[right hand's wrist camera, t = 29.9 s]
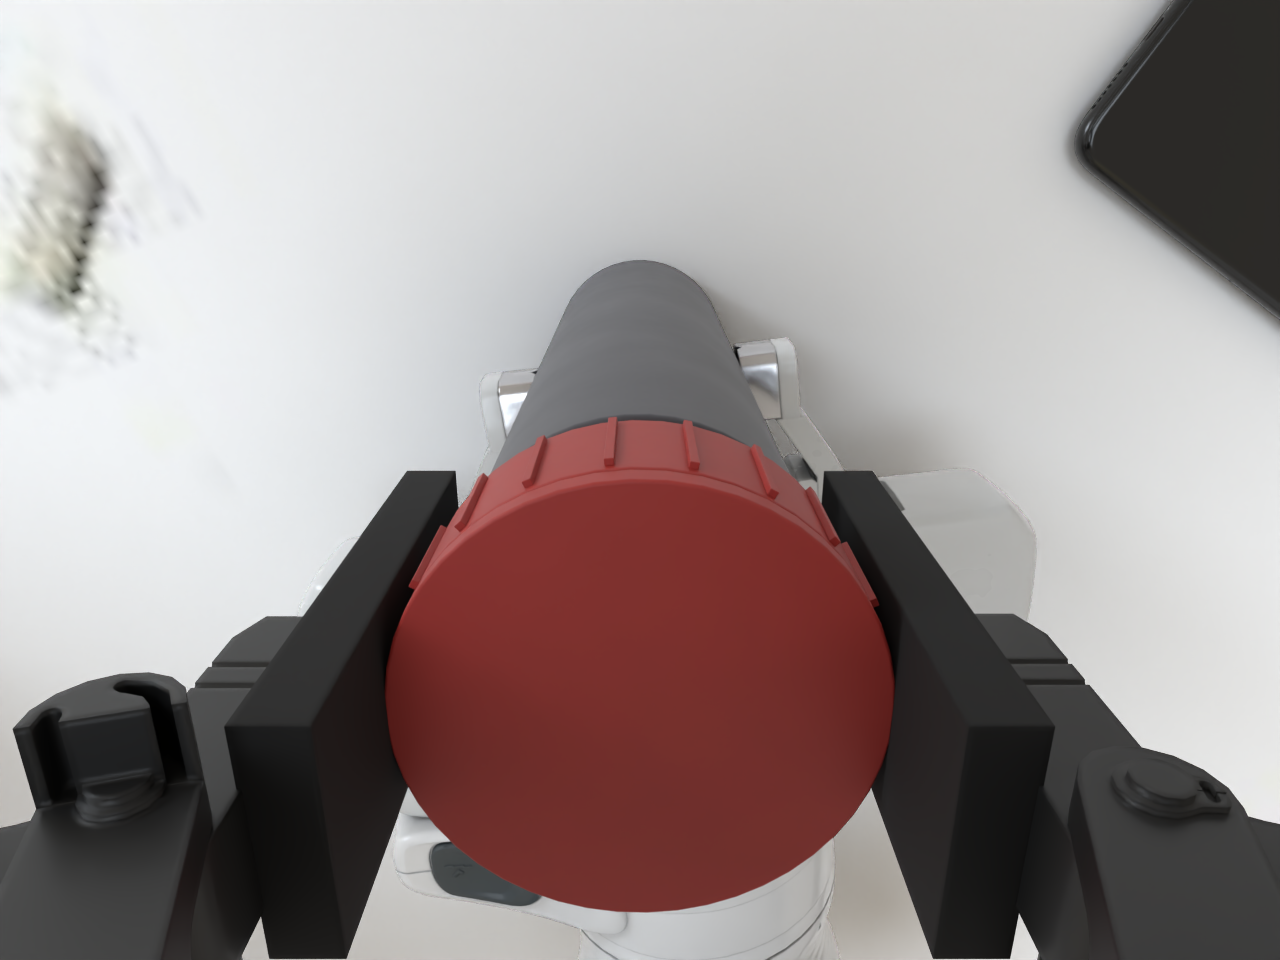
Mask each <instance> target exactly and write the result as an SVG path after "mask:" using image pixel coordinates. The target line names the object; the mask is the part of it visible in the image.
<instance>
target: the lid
mask: <svg viewBox="0 0 1280 960" xmlns="http://www.w3.org/2000/svg"><path fill="white" fill-rule="evenodd" d="M409 587H410V588H412V589H414V592H413V594H412V597H411V598H410V600H409V602H408V604H407V606H406V608H405V610H404V612H403V615H402V617H401V620H400V622H399V625H398V627H397V630H396V632H395V634H394V637H393V640H392V644H391V649H390V653H389V657H388V661H387V666H386V676H385V700H386V709H387V718H388V727H389V734H390V741H391V746H392V750H393V754H394V756H395V758H396V761H397V763H398V766H399V768H400V771H401V773H402V776H403V778H404V780H405V782H406V784H407V786H408V787H409V789H410V791H411V793H412V794H413V796H414V798H415V799H416V801H417V803H418V804H419V806H420V807H421V808H422V810H423V811H424V812H425V813H426V815H427V816H428V817H429V819H430V820H431V821H432V822H433V824H434V825H435V826H436V827H437V828H438V829H439V830H440V831H441V832H442V833H443V834H444V835H445V836H446V837H447V838H448V839H449V840H450V841H451V842H452V843H453V844H454V845H455V846H456V847H457V848H458V849H460V850H461V851H462V852H463V853H465V854H466V855H467V856H469V857H470V858H471V859H472V860H474V861H475V862H476V863H478V864H479V865H481V866H482V867H484V868H486V869H487V870H489V871H490V872H492V873H494V874H495V875H497V876H499V877H500V878H502V879H504V880H506V881H508V882H510V883H512V884H514V885H517V886H519V887H521V888H523V889H525V890H527V891H529V892H532V893H535V894H538V895H541V896H544V897H547V898H550V899H552V900H555V901H558V902H563V903H567V904H571V905H576V906H580V907H584V908H590V909H598V910H606V911H614V912H639V913H650V912H663V911H676V910H683V909H688V908H694V907H699V906H705V905H709V904H713V903H716V902H720V901H723V900H727V899H730V898H734V897H737V896H739V895H742V894H744V893H747V892H749V891H752V890H754V889H757V888H759V887H762V886H764V885H766V884H768V883H769V882H771V881H773V880H775V879H777V878H779V877H781V876H782V875H784V874H786V873H788V872H790V871H791V870H793V869H794V868H796V867H797V866H798V865H800V864H801V863H803V862H804V861H806V860H807V859H808V858H810V857H811V856H813V855H814V854H815V853H816V852H817V851H819V850H820V849H821V848H822V847H823V846H824V845H825V844H826V843H828V842H829V841H830V840H831V839H832V838H833V837H834V836H835V835H836V834H837V833H838V832H839V831H840V830H841V828H842V827H843V826H844V825H845V824H846V823H847V822H848V821H849V819H850V818H851V817H852V816H853V815H854V813H855V812H856V810H857V809H858V807H859V806H860V804H861V803H862V801H863V800H864V798H865V797H866V795H867V794H868V792H869V791H870V789H871V787H872V785H873V783H874V781H875V778H876V776H877V774H878V772H879V770H880V768H881V766H882V763H883V760H884V757H885V754H886V750H887V747H888V744H889V738H890V729H891V721H892V713H893V704H894V694H895V678H894V671H893V665H892V659H891V652H890V649H889V646H888V643H887V640H886V637H885V634H884V630H883V627H882V624H881V622H880V620H879V618H878V616H877V614H876V612H875V610H874V607H876V606H879V603H878V600H877V598H876V596H875V594H874V592H873V590H872V588H871V587H870V585H869V583H868V581H867V579H866V577H865V575H864V573H863V571H862V569H861V568H860V566H859V564H858V562H857V560H856V558H855V556H854V554H853V552H852V550H851V549H850V547H849V545H848V543H847V542H844V543H842V544H841V541H840V539H839V537H838V535H837V534H836V532H835V530H834V528H833V526H832V524H831V522H830V520H829V518H828V516H827V514H826V512H825V510H824V508H823V506H822V504H821V502H820V500H819V498H818V496H817V494H816V492H815V491H814V490H813V489H812V488H811V487H809V488H807V489H806V490H805V489H804V488H803V487H802V486H801V485H800V484H799V483H798V481H797V480H796V479H795V478H793V477H792V476H791V475H790V474H788V473H787V472H786V471H785V470H783V469H782V468H781V467H780V466H779V465H777V464H776V463H775V462H774V461H772V460H770V459H769V458H767V457H765V456H764V454H763V452H762V449H761V447H759V446H757V445H755V444H753V446H752V447H749V446H747V445H745V444H742V443H740V442H738V441H736V440H733V439H731V438H729V437H726V436H724V435H722V434H719V433H715V432H712V431H708V430H705V429H702V428H698V427H695V426H693V424H692V421H688V420H684V421H683V424H678V423H671V422H665V421H643V420H628V421H617V417H610V418H608V422H607V423H600V424H595V425H591V426H586V427H582V428H577V429H573V430H570V431H567V432H564V433H562V434H559V435H556V436H554V437H551V438H548V439H546V437H545V435H543V436H540V437H538V438H537V440H536V443H535V445H533V446H532V447H530V448H528V449H526V450H524V451H522V452H520V453H518V454H517V455H515V456H514V457H512V458H511V459H510V460H508V461H507V462H505V463H504V464H502V465H501V466H500V467H498V468H497V469H495V470H494V471H493V472H492V473H491V474H490V475H489V476H487V475H485V474H484V473H482V474H481V475H480V476H479V477H478V479H477V481H476V483H475V485H474V487H473V489H472V491H471V493H470V495H469V496H468V497H467V499H466V500H465V501H464V502H463V504H462V505H461V506H460V507H459V509H458V510H457V511H456V513H455V515H454V516H453V518H452V520H451V522H450V523H449V525H448V527H447V528H446V527H444V526H442V525H441V526H440V527H439V529H438V531H437V533H436V535H435V537H434V539H433V541H432V543H431V544H430V546H429V548H428V550H427V552H426V554H425V556H424V558H423V560H422V562H421V563H420V565H419V567H418V569H417V571H416V573H415V575H414V577H413V579H412V580H411V582H410V584H409Z"/></svg>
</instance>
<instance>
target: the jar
mask: <svg viewBox="0 0 1280 960" xmlns="http://www.w3.org/2000/svg"><path fill="white" fill-rule="evenodd" d="M610 417H617V421H628V420H643V421H665V422H671V423H678V424H683V421H684V420H688V421H692V424H693V426H695V427H698V428H702V429H705V430H708V431H712V432H715V433H719V434H722V435H724V436H726V437H729V438H731V439H733V440H736V441H738V442H740V443H742V444H745V445H747V446H749V447H752V446H753V444H755V445H757V446H759V447H761V449H762V452H763V454H764V456H765V457H767V458H769V459H770V460H772V461H774V462H775V463H776V464H777V465H779V466H780V467H781V468H782V469H783V470H785V471H786V472H787V473H788V474H789V472H788V470H787V467H786V465H785V463H784V461H783V459H782V456H781V454H780V452H779V450H778V448H777V446H776V443H775V441H774V439H773V437H772V435H771V432H770V430H769V428H768V426H767V424H766V422H765V419H764V417H763V415H762V413H761V411H760V408H759V406H758V404H757V402H756V400H755V398H754V395H753V393H752V391H751V389H750V387H749V384H748V382H747V380H746V378H745V376H744V373H743V371H742V369H741V367H740V365H739V363H738V360H737V358H736V356H735V354H734V352H733V349H732V347H731V345H730V343H729V341H728V339H727V336H726V334H725V332H724V330H723V328H722V325H721V323H720V321H719V319H718V317H717V315H716V312H715V310H714V308H713V306H712V304H711V302H710V300H709V299H708V297H707V296H706V294H705V293H704V292H703V290H702V289H701V288H700V287H699V286H698V285H697V284H696V283H695V282H694V281H693V280H692V279H691V278H690V277H688V276H687V275H686V274H684V273H682V272H681V271H679V270H677V269H675V268H673V267H671V266H668V265H666V264H662V263H658V262H653V261H645V260H636V261H627V262H621V263H618V264H615V265H612V266H609V267H607V268H605V269H602V270H601V271H599V272H598V273H596V274H594V275H593V276H592V277H590V278H589V279H588V280H587V281H585V282H584V283H583V285H582V286H581V287H580V288H579V289H578V290H577V291H576V293H575V294H574V296H573V297H572V298H571V300H570V302H569V304H568V306H567V308H566V310H565V312H564V314H563V317H562V319H561V321H560V323H559V325H558V327H557V330H556V332H555V334H554V336H553V338H552V341H551V343H550V345H549V347H548V349H547V351H546V354H545V356H544V358H543V360H542V362H541V364H540V367H539V369H538V371H537V373H536V375H535V378H534V380H533V382H532V384H531V386H530V388H529V391H528V393H527V395H526V397H525V399H524V401H523V404H522V406H521V408H520V410H519V412H518V415H517V417H516V419H515V421H514V423H513V425H512V428H511V430H510V432H509V434H508V436H507V438H506V441H505V443H504V445H503V447H502V449H501V452H500V454H499V456H498V458H497V460H496V462H495V465H494V467H493V469H492V471H491V473H492V472H493V471H494V470H495V469H497V468H498V467H500V466H501V465H502V464H504V463H505V462H507V461H508V460H510V459H511V458H512V457H514V456H515V455H517V454H518V453H520V452H522V451H524V450H526V449H528V448H530V447H532V446H533V445H535V443H536V440H537V438H538V437H540V436H543V435H545V437H546V439H548V438H551V437H554V436H556V435H559V434H562V433H564V432H567V431H570V430H573V429H577V428H582V427H586V426H591V425H595V424H600V423H607V422H608V418H610ZM491 473H490V474H491Z"/></svg>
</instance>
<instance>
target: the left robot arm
mask: <svg viewBox="0 0 1280 960" xmlns="http://www.w3.org/2000/svg"><path fill="white" fill-rule="evenodd" d="M733 350H734V354H735V356H736V358H737V360H738V363H739V365H740V367H741V369H742V371H743V373H744V376H745V378H746V380H747V382H748V384H749V387H750V389H751V391H752V393H753V395H754V398H755V400H756V402H757V404H758V406H759V408H760V411H761V413H762V415H763V417H764V419H765V420H767V419H776V421H777V422H778V424H779V425H780V426H781V428H782V429H783V431H784V432H785V433H786V435H787V436H788V438H789V439H790V440H791V442H792V443H793V444H794V446H795V447H796V449H797V450H798V451H799V453H800V454H801V455H800V454H793V455H787V456H786V457H785V458H784V459H783V461H784V463H785V465H786V467H787V470H788V472H789V474H790V475H791V476H792V477H793V478H795V479H796V480H797V481H798V483H799V484H800V485H801V486H802V487H803V488H804V489H805V490H806V489H807V488H809V487H811V488H812V489H813V490H814V491H815V492H816V494H817V496H818V498H819V500H820V502H821V503H822V490H823V477H824V471H845V470H844V469H843V467H842V466H841V464H840V462H839V461H838V459H837V458H836V456H835V454H834V453H833V451H832V450H831V448H830V447H829V445H828V444H827V442H826V441H825V440H824V438H823V437H822V435H821V434H820V433H819V431H818V430H817V428H816V427H815V426H814V424H813V423H812V421H811V420H810V419H809V417H808V416H807V414H806V413H805V412H804V410H803V409H802V407H801V406H800V393H799V378H798V362H797V356H796V351H795V347H794V344H793V343H792V342H791V341H790V339H789V338H788V337H784V338H776V339H767V340H760V341H752V342H745V343H738V344H734V348H733ZM538 369H539V368H533V369H524V370H514V371H505V372H504V371H501V372H495V373H489V374H486V375H485V376H484V378H483V379H482V381H481V382H480V390H479V393H480V404H481V410H482V415H483V420H484V425H485V431H486V436H487V441H488V446H489V447H488V449H487V451H486V453H485V455H484V458H483V460H482V463H481V465H480V468H479V471H478V473H477V476H476V478H475V481H474V484H473V486H472V489H473V487H474V485H475V483H476V481H477V479H478V477H479V476H480V475H481V474H482V473H484V474H485V475H487V476H489V475H490V473H491V471H492V469H493V467H494V465H495V462H496V460H497V458H498V456H499V454H500V452H501V449H502V447H503V445H504V443H505V441H506V438H507V436H508V434H509V432H510V430H511V428H512V425H513V423H514V421H515V419H516V417H517V415H518V412H519V410H520V408H521V406H522V404H523V401H524V399H525V397H526V395H527V393H528V391H529V388H530V386H531V384H532V382H533V380H534V378H535V375H536V373H537V371H538ZM877 478H878V480H879V481H880V482H881V484H882V485H883V487H884V488H885V489H886V491H887V492H888V494H889V495H890V496H891V498H892V499H893V501H894V502H895V503H896V505H897V506H898V508H899V509H900V510H901V512H902V513H903V515H904V516H905V517H906V519H907V520H908V522H909V523H910V524H911V526H912V527H913V528H914V530H915V531H916V533H917V534H918V535H919V537H920V538H921V540H922V541H923V542H924V544H925V545H926V547H927V548H928V549H929V551H930V552H931V554H932V555H933V556H934V558H935V559H936V561H937V562H938V563H939V565H940V566H941V568H942V569H943V570H944V572H945V573H946V575H947V576H948V577H949V579H950V580H951V581H952V583H953V584H954V586H955V587H956V588H957V590H958V591H959V593H960V594H961V595H962V597H963V598H964V600H965V601H966V602H967V604H968V605H969V607H970V608H971V609H972V611H973V612H974V614H1015V615H1016V616H1018V617H1020V618H1021V619H1023V620H1024V621H1026V622H1028V617H1029V611H1030V606H1031V599H1032V591H1033V584H1034V575H1035V566H1036V552H1037V543H1036V536H1035V532H1034V529H1033V527H1032V525H1031V523H1030V522H1029V520H1028V519H1027V517H1026V516H1025V515H1024V513H1023V512H1022V511H1021V510H1020V509H1019V507H1018V506H1017V505H1016V504H1015V503H1014V502H1013V501H1012V500H1011V499H1010V498H1009V497H1008V496H1007V495H1006V494H1005V493H1004V492H1003V491H1002V490H1000V489H999V488H998V487H997V486H995V485H994V484H993V483H992V482H990V481H989V480H988V479H986V478H985V477H984V476H983V475H981V474H980V473H979V472H977V471H975V470H972V469H969V468H955V469H946V470H937V471H929V472H920V473H911V474H902V475H894V476H885V477H877ZM472 489H471V491H472ZM470 493H471V492H470ZM469 495H470V494H469ZM359 537H360V536H358V537H353V538H350V539H348V540H346V541H345V542H343V543H342V544H341V545H340V546H339V547H338V548H337V549H336V550H335V551H334V553H333V554H332V555H331V556H330V557H329V559H328V560H327V561H326V562H325V563H324V565H323V566H322V567H321V568H320V570H319V571H318V573H317V574H316V576H315V577H314V579H313V580H312V582H311V583H310V585H309V586H308V588H307V590H306V592H305V594H304V596H303V598H302V601H301V603H300V606H299V609H298V614H297V616H304V614H305V613H306V611H307V610H308V609H309V607H310V606H311V604H312V603H313V602H314V600H315V599H316V597H317V596H318V595H319V593H320V592H321V590H322V589H323V588H324V586H325V585H326V583H327V582H328V581H329V579H330V578H331V576H332V575H333V574H334V572H335V571H336V570H337V568H338V567H339V565H340V564H341V563H342V561H343V560H344V558H345V557H346V556H347V554H348V553H349V551H350V550H351V549H352V547H353V546H354V544H355V543H356V542H357V540H358V539H359ZM393 860H394V865H395V869H396V872H397V874H398V877H399V879H400V880H401V882H402V883H403V884H404V885H405V886H406V887H407V888H409V889H410V890H412V891H414V892H417V893H420V894H423V895H427V896H433V897H439V898H445V899H452V900H459V901H466V902H472V903H478V904H484V905H489V906H495V907H500V908H505V909H510V910H515V911H519V912H524V913H528V914H532V915H536V916H540V917H543V918H547V919H551V920H554V921H557V922H560V923H563V924H566V925H569V926H572V927H575V928H578V929H579V930H580V936H581V942H580V950H579V954H578V958H577V960H840V955H839V950H838V945H837V941H836V938H835V935H834V932H833V929H832V926H831V924H830V922H829V920H828V918H827V915H828V912H829V909H830V906H831V902H832V897H833V892H834V885H835V856H834V839H833V838H832V839H831V840H830V841H829V842H828V843H826V844H825V845H824V846H823V847H822V848H821V849H820V850H819V851H817V852H816V853H815V854H814V855H813V856H811V857H810V858H808V859H807V860H806V861H804V862H803V863H801V864H800V865H798V866H797V867H796V868H794V869H793V870H791V871H790V872H788V873H786V874H784V875H782V876H781V877H779V878H777V879H775V880H773V881H771V882H769V883H768V884H766V885H764V886H762V887H759V888H757V889H754V890H752V891H749V892H747V893H744V894H742V895H739V896H737V897H734V898H730V899H727V900H723V901H720V902H716V903H713V904H709V905H705V906H699V907H694V908H688V909H683V910H676V911H663V912H650V913H639V912H614V911H606V910H598V909H590V908H584V907H580V906H576V905H571V904H567V903H563V902H558V901H555V900H552V899H550V898H547V897H544V896H541V895H538V894H535V893H532V892H529V891H527V890H525V889H523V888H521V887H519V886H517V885H514V884H512V883H510V882H508V881H506V880H504V879H502V878H500V877H499V876H497V875H495V874H494V873H492V872H490V871H489V870H487V869H486V868H484V867H482V866H481V865H479V864H478V863H476V862H475V861H474V860H472V859H471V858H470V857H469V856H467V855H466V854H465V853H463V852H462V851H461V850H460V849H458V848H457V847H456V846H455V845H454V844H453V843H452V842H451V841H450V840H449V839H448V838H447V837H446V836H445V835H444V834H443V833H442V832H441V831H440V830H439V829H438V828H437V827H436V826H435V825H434V824H433V822H432V821H431V820H430V819H429V817H428V816H427V815H426V813H425V812H424V811H423V810H422V808H421V807H420V806H419V804H418V803H417V801H416V799H415V798H414V796H413V794H412V793H411V791H410V789H409V787H408V789H407V792H406V795H405V798H404V801H403V803H402V806H401V809H400V812H399V817H398V822H397V827H396V833H395V838H394V844H393Z"/></svg>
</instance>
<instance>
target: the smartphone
mask: <svg viewBox="0 0 1280 960" xmlns="http://www.w3.org/2000/svg"><path fill="white" fill-rule="evenodd" d="M1075 152H1076V156H1077V158H1078V160H1079V162H1080V163H1081V164H1082V166H1083V167H1084V168H1085V169H1086V170H1087V171H1088V172H1089V173H1090V174H1092V175H1093V176H1094V177H1096V178H1097V179H1098V180H1099V181H1101V182H1102V183H1103V184H1105V185H1106V186H1107V187H1108V188H1110V189H1111V190H1112V191H1114V192H1115V193H1116V194H1118V195H1119V196H1120V197H1121V198H1123V199H1124V200H1125V201H1127V202H1128V203H1129V204H1130V205H1132V206H1133V207H1134V208H1136V209H1137V210H1138V211H1139V212H1141V213H1142V214H1143V215H1145V216H1146V217H1147V218H1149V219H1150V220H1151V221H1152V222H1154V223H1155V224H1156V225H1158V226H1159V227H1160V228H1161V229H1163V230H1164V231H1165V232H1167V233H1168V234H1169V235H1171V236H1172V237H1173V238H1174V239H1176V240H1177V241H1178V242H1180V243H1181V244H1182V245H1183V246H1185V247H1186V248H1187V249H1189V250H1190V251H1191V252H1193V253H1194V254H1195V255H1196V256H1198V257H1199V258H1200V259H1202V260H1203V261H1204V262H1205V263H1207V264H1208V265H1209V266H1211V267H1212V268H1213V269H1215V270H1216V271H1217V272H1218V273H1220V274H1221V275H1222V276H1224V277H1225V278H1226V279H1228V280H1229V281H1230V282H1231V283H1233V284H1234V285H1235V286H1237V287H1238V288H1239V289H1241V290H1242V291H1243V292H1244V293H1246V294H1247V295H1248V296H1250V297H1251V298H1252V299H1253V300H1255V301H1256V302H1257V303H1259V304H1260V305H1261V306H1262V307H1264V308H1265V309H1266V310H1268V311H1269V312H1270V313H1271V314H1273V315H1274V316H1275V317H1277V318H1278V319H1279V320H1280V0H1173V1H1172V3H1171V4H1170V5H1169V7H1168V8H1167V9H1166V10H1165V12H1164V13H1163V14H1162V16H1161V17H1160V18H1159V20H1158V21H1157V22H1156V24H1155V25H1154V26H1153V27H1152V29H1151V30H1150V31H1149V33H1148V34H1147V35H1146V37H1145V38H1144V39H1143V41H1142V42H1141V43H1140V45H1139V46H1138V47H1137V48H1136V50H1135V51H1134V52H1133V54H1132V55H1131V56H1130V58H1129V59H1128V60H1127V62H1126V63H1125V64H1124V66H1123V67H1122V68H1121V69H1120V71H1119V72H1118V73H1117V75H1116V76H1115V77H1114V79H1113V80H1112V81H1111V83H1110V84H1109V85H1108V87H1107V88H1106V89H1105V91H1104V92H1103V93H1102V94H1101V96H1100V97H1099V98H1098V100H1097V101H1096V102H1095V104H1094V105H1093V106H1092V108H1091V109H1090V110H1089V112H1088V113H1087V115H1086V116H1085V117H1084V119H1083V120H1082V122H1081V124H1080V126H1079V128H1078V130H1077V133H1076V137H1075Z"/></svg>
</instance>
